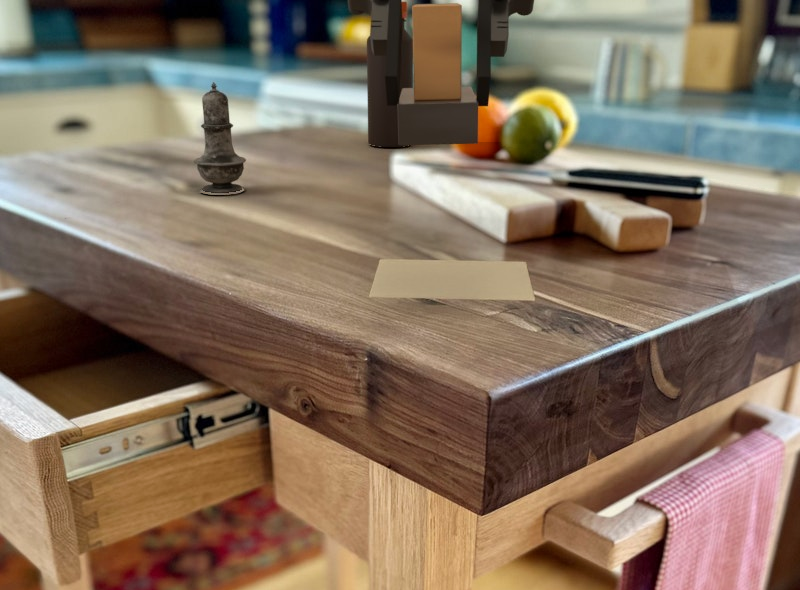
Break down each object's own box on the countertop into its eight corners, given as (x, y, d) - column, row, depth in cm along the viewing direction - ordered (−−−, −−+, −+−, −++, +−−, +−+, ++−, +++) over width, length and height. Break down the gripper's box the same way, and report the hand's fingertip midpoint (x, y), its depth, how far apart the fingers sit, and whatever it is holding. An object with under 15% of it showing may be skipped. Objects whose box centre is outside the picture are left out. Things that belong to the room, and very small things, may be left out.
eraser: (402, 124, 64) (400, 4, 61) (471, 122, 64) (472, 2, 60) (398, 145, 55) (394, 6, 52) (477, 143, 55) (479, 4, 51)
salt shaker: (223, 184, 105) (214, 79, 100) (258, 190, 102) (251, 81, 97) (186, 192, 101) (175, 82, 96) (222, 198, 98) (212, 85, 93)
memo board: (525, 273, 72) (526, 261, 71) (534, 313, 63) (535, 300, 62) (380, 270, 72) (379, 258, 72) (368, 309, 63) (368, 296, 63)
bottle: (411, 149, 130) (412, 1, 122) (366, 148, 130) (363, 1, 122) (413, 142, 136) (414, 1, 128) (370, 141, 136) (368, 1, 128)
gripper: (564, -127, 66) (573, 131, 58) (326, -126, 66) (302, 128, 58) (580, -229, 58) (593, 48, 50) (313, -226, 59) (284, 47, 51)
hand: (437, 91), depth 54 cm, fingers closed on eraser, 5 cm apart
